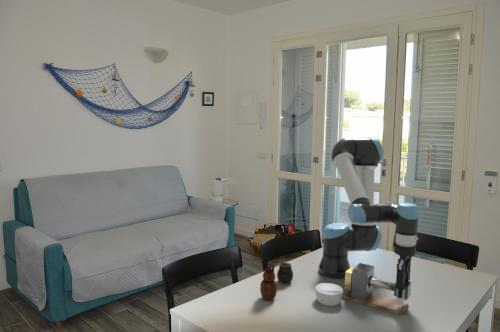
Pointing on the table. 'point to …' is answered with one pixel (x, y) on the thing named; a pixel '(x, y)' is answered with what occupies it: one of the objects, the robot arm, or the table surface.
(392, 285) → the shaft
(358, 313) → the table surface
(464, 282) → the table surface
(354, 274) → the block
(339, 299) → the ramekin
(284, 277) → the mate gourd
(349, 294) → the pad
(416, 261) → the table surface
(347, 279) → the brass collar
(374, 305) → the walnut board
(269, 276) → the wooden figurine
